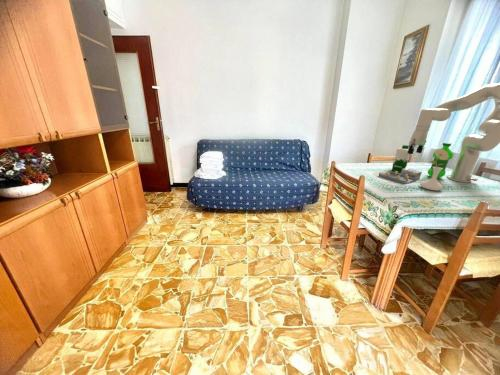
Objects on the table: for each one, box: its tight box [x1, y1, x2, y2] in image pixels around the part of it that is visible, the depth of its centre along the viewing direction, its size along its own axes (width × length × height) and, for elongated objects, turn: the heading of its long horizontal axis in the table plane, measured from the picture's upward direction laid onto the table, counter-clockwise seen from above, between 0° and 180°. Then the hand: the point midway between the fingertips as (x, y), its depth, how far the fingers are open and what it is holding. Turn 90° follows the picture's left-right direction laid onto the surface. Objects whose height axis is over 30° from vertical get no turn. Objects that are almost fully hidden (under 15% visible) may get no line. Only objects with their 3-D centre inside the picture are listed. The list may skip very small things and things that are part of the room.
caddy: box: [378, 170, 417, 185], centre depth 146 cm, size 18×13×4 cm
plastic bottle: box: [427, 142, 454, 179], centre depth 147 cm, size 10×10×25 cm
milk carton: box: [391, 144, 411, 173], centre depth 161 cm, size 9×9×20 cm
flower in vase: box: [419, 148, 449, 191], centre depth 126 cm, size 13×11×25 cm
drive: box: [400, 167, 423, 180], centre depth 150 cm, size 10×6×6 cm, turn 26°
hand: (414, 153), depth 146 cm, fingers open, 9 cm apart
